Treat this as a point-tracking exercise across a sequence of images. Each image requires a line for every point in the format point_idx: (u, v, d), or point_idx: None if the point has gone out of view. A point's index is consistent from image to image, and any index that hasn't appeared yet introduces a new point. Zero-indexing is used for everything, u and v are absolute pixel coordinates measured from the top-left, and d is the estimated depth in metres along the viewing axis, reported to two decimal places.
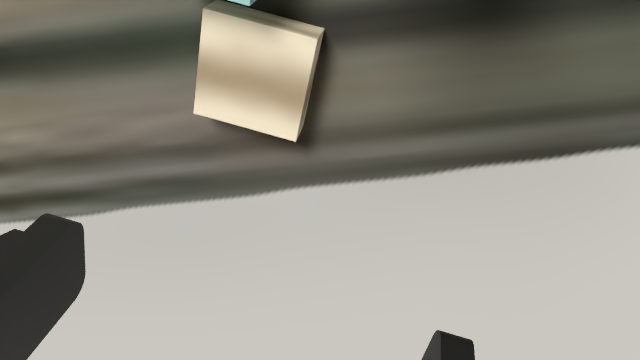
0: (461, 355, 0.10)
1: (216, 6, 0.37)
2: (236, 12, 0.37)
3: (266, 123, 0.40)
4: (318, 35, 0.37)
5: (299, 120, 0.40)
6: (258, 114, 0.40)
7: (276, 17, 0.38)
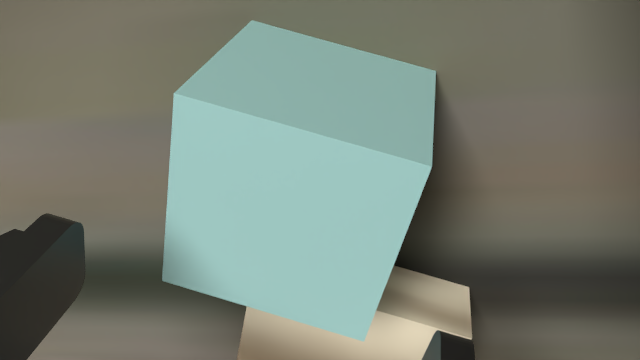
0: (461, 355, 0.10)
1: None
2: None
3: None
4: (469, 320, 0.20)
5: None
6: None
7: None
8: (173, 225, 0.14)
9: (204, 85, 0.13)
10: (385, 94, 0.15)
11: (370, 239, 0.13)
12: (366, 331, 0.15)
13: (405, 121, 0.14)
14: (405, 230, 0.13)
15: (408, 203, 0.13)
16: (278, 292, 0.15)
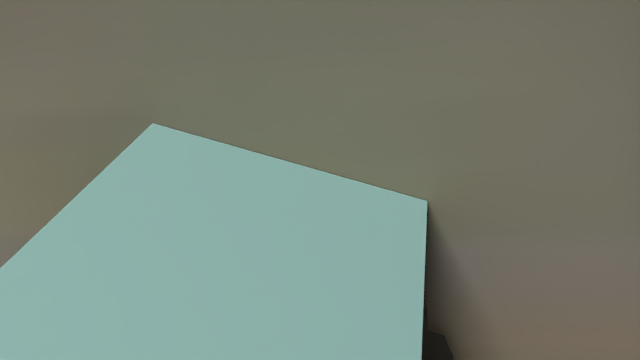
0: None
1: None
2: None
3: None
4: None
5: None
6: None
7: None
8: None
9: (4, 304, 0.07)
10: (342, 274, 0.09)
11: None
12: None
13: (372, 346, 0.08)
14: None
15: None
16: None
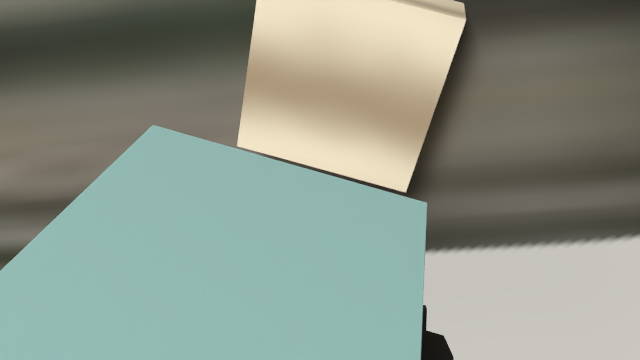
0: None
1: None
2: None
3: (358, 163, 0.24)
4: (463, 13, 0.21)
5: (416, 158, 0.24)
6: (346, 149, 0.24)
7: None
8: None
9: (3, 306, 0.07)
10: (342, 276, 0.09)
11: None
12: None
13: (371, 348, 0.08)
14: None
15: None
16: None
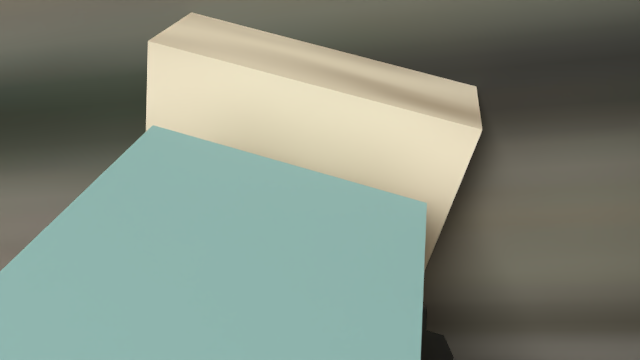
0: None
1: (188, 34, 0.14)
2: (243, 49, 0.13)
3: None
4: (477, 113, 0.13)
5: None
6: None
7: (350, 60, 0.14)
8: None
9: (5, 306, 0.07)
10: (342, 277, 0.09)
11: None
12: None
13: (371, 349, 0.08)
14: None
15: None
16: None
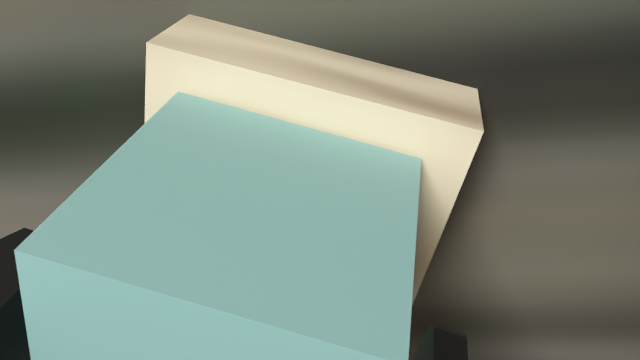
0: (454, 349, 0.11)
1: (186, 35, 0.13)
2: (243, 50, 0.13)
3: None
4: (478, 115, 0.13)
5: None
6: None
7: (350, 61, 0.14)
8: None
9: (69, 229, 0.09)
10: (347, 214, 0.10)
11: None
12: None
13: (372, 268, 0.09)
14: None
15: None
16: None
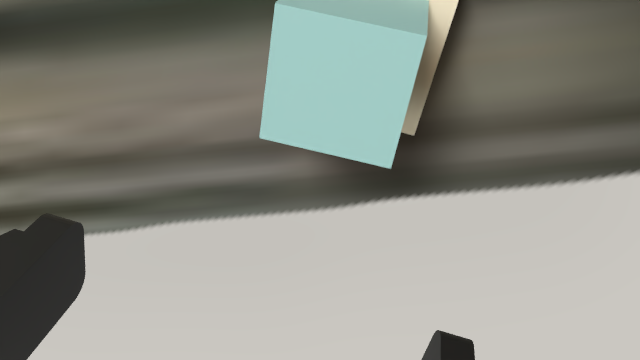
0: (461, 355, 0.10)
1: None
2: None
3: None
4: None
5: (422, 105, 0.29)
6: None
7: None
8: (269, 94, 0.23)
9: (290, 1, 0.22)
10: (396, 9, 0.23)
11: (392, 90, 0.22)
12: (392, 160, 0.24)
13: (410, 19, 0.22)
14: (413, 81, 0.22)
15: (414, 62, 0.21)
16: (335, 137, 0.24)
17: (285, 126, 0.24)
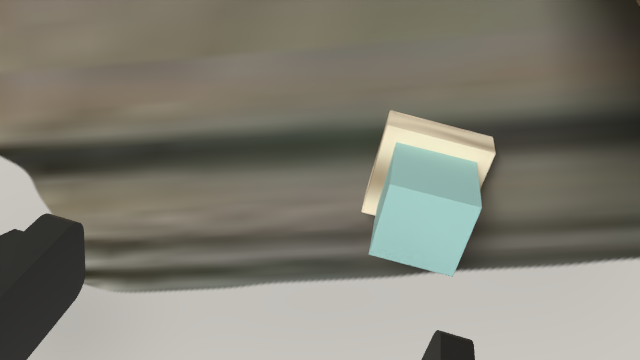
0: (461, 355, 0.10)
1: (395, 120, 0.40)
2: (414, 125, 0.40)
3: None
4: (493, 147, 0.40)
5: None
6: None
7: (449, 128, 0.41)
8: (378, 231, 0.37)
9: (397, 180, 0.35)
10: (459, 177, 0.37)
11: (458, 234, 0.36)
12: None
13: (469, 189, 0.36)
14: (471, 230, 0.35)
15: (473, 220, 0.35)
16: (418, 256, 0.37)
17: (386, 249, 0.38)
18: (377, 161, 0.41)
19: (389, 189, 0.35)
